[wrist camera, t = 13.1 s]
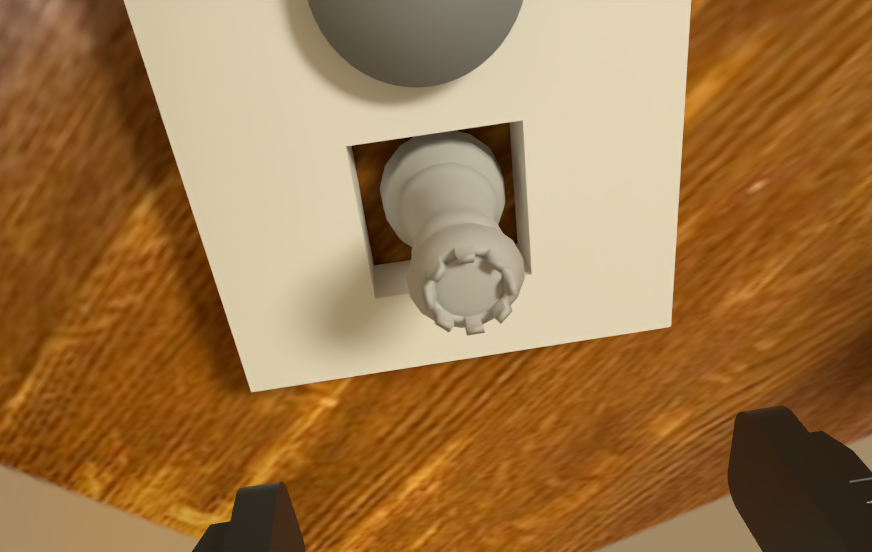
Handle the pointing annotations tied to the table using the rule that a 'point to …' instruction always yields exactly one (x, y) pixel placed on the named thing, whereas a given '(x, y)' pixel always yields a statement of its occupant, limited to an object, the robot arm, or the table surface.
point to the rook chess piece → (453, 229)
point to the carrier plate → (413, 116)
